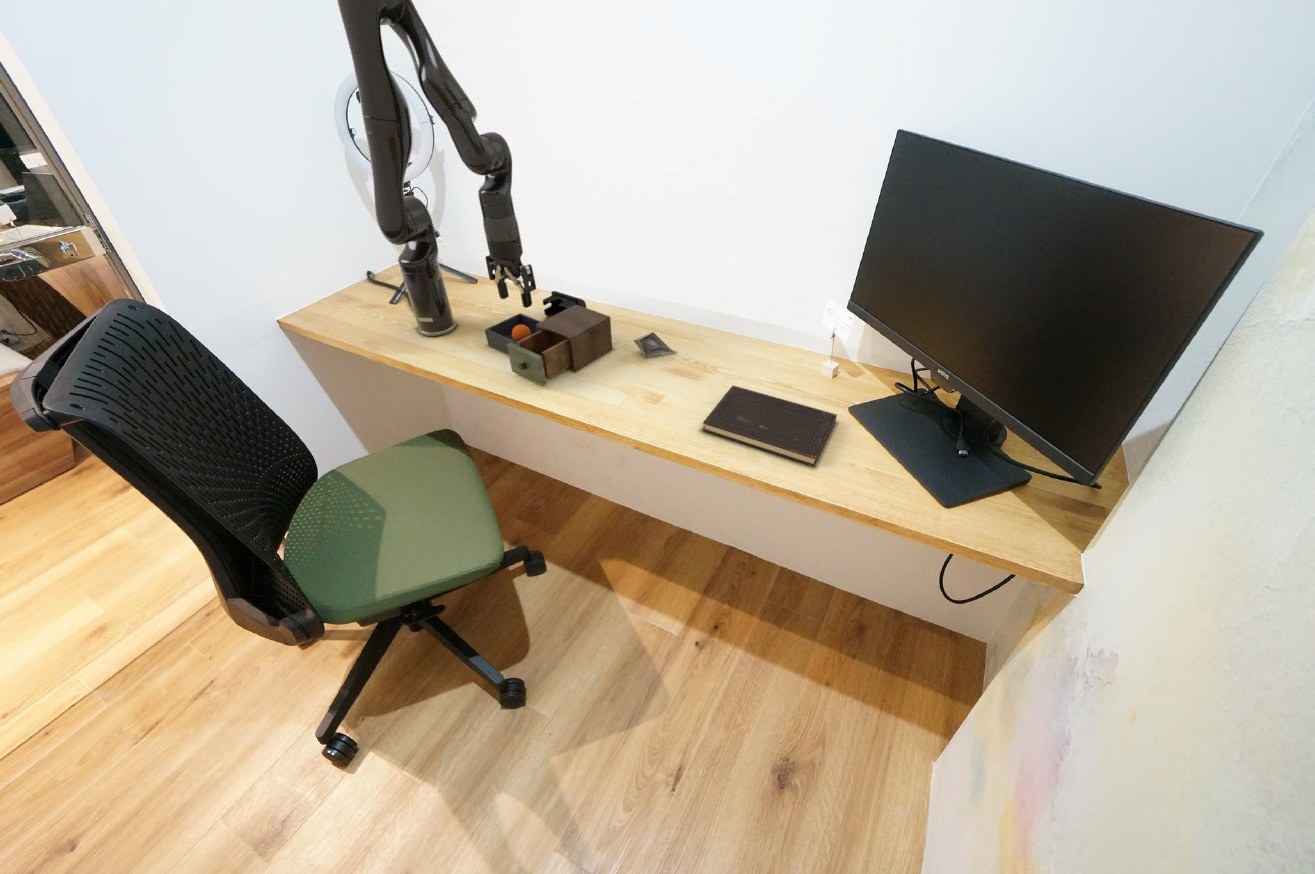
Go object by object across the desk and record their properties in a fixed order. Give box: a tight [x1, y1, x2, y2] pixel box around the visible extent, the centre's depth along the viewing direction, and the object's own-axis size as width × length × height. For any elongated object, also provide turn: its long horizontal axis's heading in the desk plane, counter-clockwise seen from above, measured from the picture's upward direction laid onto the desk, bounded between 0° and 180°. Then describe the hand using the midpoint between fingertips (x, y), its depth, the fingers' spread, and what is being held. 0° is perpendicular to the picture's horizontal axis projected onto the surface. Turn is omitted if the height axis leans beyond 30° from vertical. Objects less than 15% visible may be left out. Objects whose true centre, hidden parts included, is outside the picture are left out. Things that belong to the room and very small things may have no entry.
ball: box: [512, 324, 531, 342], centre depth 135 cm, size 5×5×5 cm
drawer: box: [507, 329, 572, 387], centre depth 124 cm, size 14×10×7 cm
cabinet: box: [536, 305, 613, 373], centre depth 130 cm, size 14×12×9 cm
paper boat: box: [632, 331, 675, 358], centre depth 130 cm, size 12×6×9 cm
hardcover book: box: [702, 384, 838, 468], centre depth 109 cm, size 16×23×2 cm
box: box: [484, 312, 542, 356], centre depth 136 cm, size 14×12×5 cm
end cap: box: [542, 290, 587, 320], centre depth 146 cm, size 10×7×7 cm
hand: (516, 302), depth 130 cm, fingers open, 8 cm apart
